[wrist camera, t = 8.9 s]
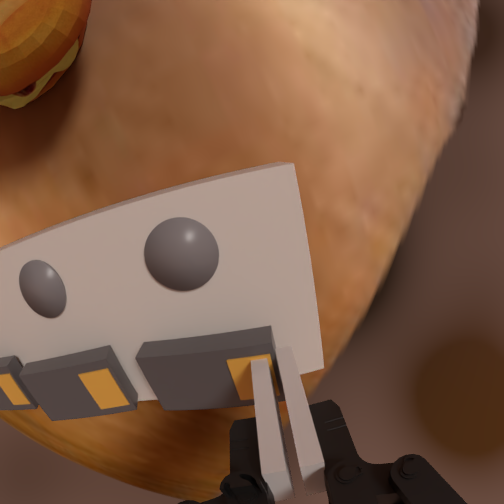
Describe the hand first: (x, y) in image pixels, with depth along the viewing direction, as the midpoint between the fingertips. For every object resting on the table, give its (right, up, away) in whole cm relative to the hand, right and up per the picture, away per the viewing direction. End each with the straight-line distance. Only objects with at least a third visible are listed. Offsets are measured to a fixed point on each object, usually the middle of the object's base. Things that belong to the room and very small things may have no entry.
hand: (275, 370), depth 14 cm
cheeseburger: (-16, +20, -1) cm, 26 cm away
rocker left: (-21, -4, +1) cm, 21 cm away
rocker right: (-3, 0, +1) cm, 3 cm away
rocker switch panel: (-13, +2, +5) cm, 14 cm away
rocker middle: (-12, -2, +1) cm, 12 cm away
